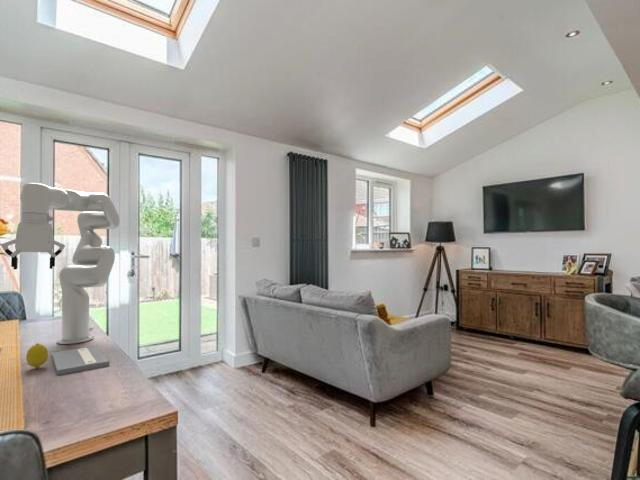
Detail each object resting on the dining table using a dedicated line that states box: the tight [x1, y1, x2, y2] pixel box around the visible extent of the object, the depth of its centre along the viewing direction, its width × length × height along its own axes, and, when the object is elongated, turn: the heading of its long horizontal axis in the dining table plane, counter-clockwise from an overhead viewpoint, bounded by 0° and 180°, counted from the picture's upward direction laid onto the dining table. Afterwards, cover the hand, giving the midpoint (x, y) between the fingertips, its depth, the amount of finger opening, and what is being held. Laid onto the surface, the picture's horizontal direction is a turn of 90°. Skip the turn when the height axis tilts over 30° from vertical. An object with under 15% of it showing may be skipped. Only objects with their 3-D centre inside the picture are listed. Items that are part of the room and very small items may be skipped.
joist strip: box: [76, 347, 96, 364], centre depth 126 cm, size 22×3×1 cm, turn 40°
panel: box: [51, 345, 110, 376], centre depth 125 cm, size 24×14×2 cm, turn 40°
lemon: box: [25, 343, 49, 369], centre depth 118 cm, size 6×6×8 cm
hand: (33, 269), depth 125 cm, fingers open, 9 cm apart
